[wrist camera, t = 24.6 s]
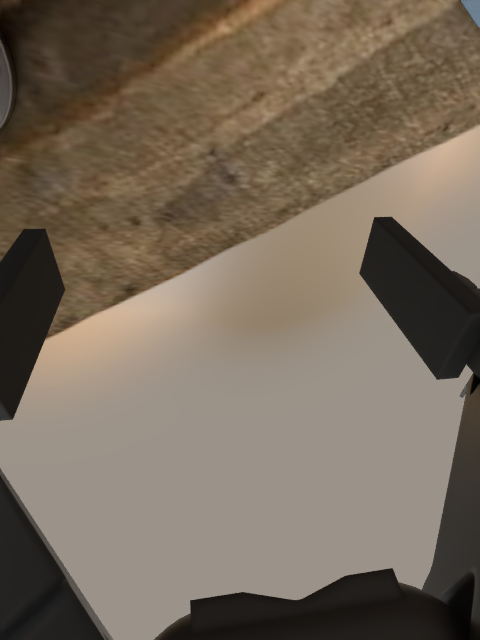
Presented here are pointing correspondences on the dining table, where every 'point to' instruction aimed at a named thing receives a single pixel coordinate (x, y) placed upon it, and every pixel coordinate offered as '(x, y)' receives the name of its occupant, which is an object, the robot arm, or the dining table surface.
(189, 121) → the dining table surface
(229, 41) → the dining table surface
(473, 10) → the tote
